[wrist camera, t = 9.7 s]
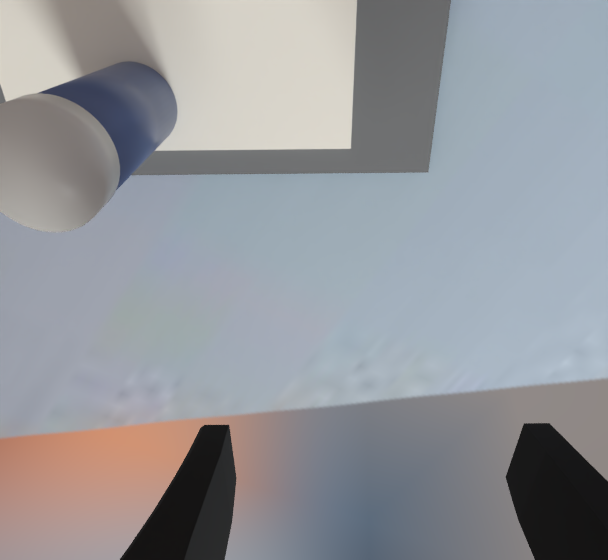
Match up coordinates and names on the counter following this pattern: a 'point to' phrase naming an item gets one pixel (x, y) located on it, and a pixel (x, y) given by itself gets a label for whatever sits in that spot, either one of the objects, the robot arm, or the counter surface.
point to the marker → (80, 143)
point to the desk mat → (357, 103)
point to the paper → (201, 63)
